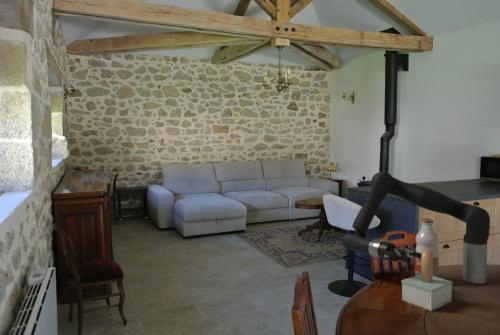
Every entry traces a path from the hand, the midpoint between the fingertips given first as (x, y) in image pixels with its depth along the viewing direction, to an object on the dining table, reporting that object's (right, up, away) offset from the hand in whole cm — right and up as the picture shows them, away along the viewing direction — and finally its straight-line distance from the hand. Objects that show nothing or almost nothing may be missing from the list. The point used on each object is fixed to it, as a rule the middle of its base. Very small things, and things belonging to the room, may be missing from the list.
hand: (416, 258), depth 153 cm
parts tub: (+3, -16, -3) cm, 16 cm away
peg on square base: (+3, -11, -3) cm, 11 cm away
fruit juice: (+12, -15, +18) cm, 27 cm away
